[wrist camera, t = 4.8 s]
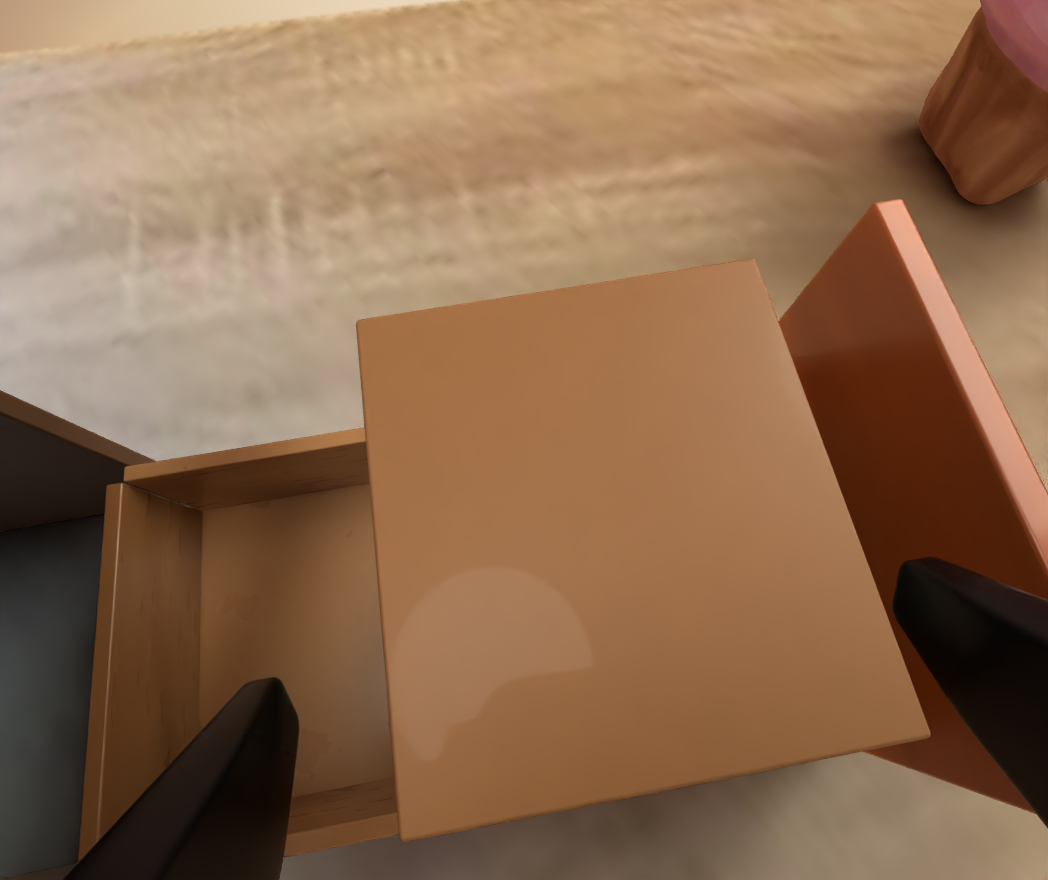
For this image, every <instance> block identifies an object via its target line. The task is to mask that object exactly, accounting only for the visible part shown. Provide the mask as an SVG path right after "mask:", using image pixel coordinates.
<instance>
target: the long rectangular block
mask: <svg viewBox="0 0 1048 880" xmlns="http://www.w3.org/2000/svg"><path fill="white" fill-rule="evenodd" d="M356 331H357V343H358V355H359V367H360V378H361V390H362V402H363V414H364V426H365V438H366V450H367V462H368V474H369V486H370V497H371V509H372V521H373V533H374V545H375V557H376V569H377V581H378V593H379V605H380V617H381V628H382V640H383V652H384V664H385V676H386V688H387V700H388V712H389V724H390V736H391V747H392V759H393V771H394V783H395V795H396V807H397V819H398V831H399V838H400V840H401V841H402V842H409V841H414V840H419V839H424V838H429V837H434V836H439V835H444V834H449V833H455V832H460V831H465V830H470V829H475V828H480V827H485V826H490V825H495V824H500V823H505V822H510V821H515V820H520V819H525V818H530V817H535V816H540V815H545V814H550V813H555V812H560V811H565V810H570V809H575V808H580V807H585V806H590V805H595V804H600V803H606V802H611V801H616V800H621V799H626V798H631V797H636V796H641V795H646V794H651V793H656V792H661V791H666V790H671V789H676V788H681V787H686V786H691V785H696V784H701V783H706V782H711V781H716V780H721V779H726V778H731V777H736V776H741V775H746V774H751V773H757V772H762V771H767V770H772V769H777V768H782V767H787V766H792V765H797V764H802V763H807V762H812V761H817V760H822V759H827V758H832V757H837V756H842V755H847V754H852V753H857V752H862V751H867V750H872V749H877V748H882V747H887V746H892V745H897V744H902V743H908V742H913V741H918V740H923V739H927V738H928V737H930V736H931V734H930V730H929V727H928V725H927V722H926V719H925V716H924V714H923V711H922V708H921V706H920V703H919V700H918V698H917V695H916V692H915V689H914V687H913V684H912V681H911V679H910V676H909V673H908V671H907V668H906V665H905V662H904V660H903V657H902V654H901V652H900V649H899V646H898V644H897V641H896V638H895V635H894V633H893V630H892V627H891V625H890V622H889V619H888V617H887V614H886V611H885V608H884V606H883V603H882V600H881V598H880V595H879V592H878V590H877V587H876V584H875V581H874V579H873V576H872V573H871V571H870V568H869V565H868V563H867V560H866V557H865V554H864V552H863V549H862V546H861V544H860V541H859V538H858V536H857V533H856V530H855V527H854V525H853V522H852V519H851V517H850V514H849V511H848V509H847V506H846V503H845V500H844V498H843V495H842V492H841V490H840V487H839V484H838V482H837V479H836V476H835V473H834V471H833V468H832V465H831V463H830V460H829V457H828V455H827V452H826V449H825V446H824V444H823V441H822V438H821V436H820V433H819V430H818V428H817V425H816V422H815V419H814V417H813V414H812V411H811V409H810V406H809V403H808V401H807V398H806V395H805V392H804V390H803V387H802V384H801V382H800V379H799V376H798V374H797V371H796V368H795V365H794V363H793V360H792V357H791V355H790V352H789V349H788V347H787V344H786V341H785V338H784V336H783V333H782V330H781V328H780V325H779V322H778V320H777V317H776V314H775V311H774V309H773V306H772V303H771V301H770V298H769V295H768V293H767V290H766V287H765V284H764V282H763V279H762V276H761V274H760V271H759V268H758V266H757V263H756V261H755V260H754V259H748V260H742V261H735V262H729V263H723V264H716V265H710V266H703V267H697V268H690V269H684V270H678V271H671V272H665V273H658V274H652V275H645V276H639V277H632V278H626V279H620V280H613V281H607V282H600V283H594V284H587V285H581V286H575V287H568V288H562V289H555V290H549V291H542V292H536V293H529V294H523V295H517V296H510V297H504V298H497V299H491V300H484V301H478V302H472V303H465V304H459V305H452V306H446V307H439V308H433V309H427V310H420V311H414V312H407V313H401V314H394V315H388V316H381V317H375V318H369V319H362V320H358V321H357V323H356Z"/></svg>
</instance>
